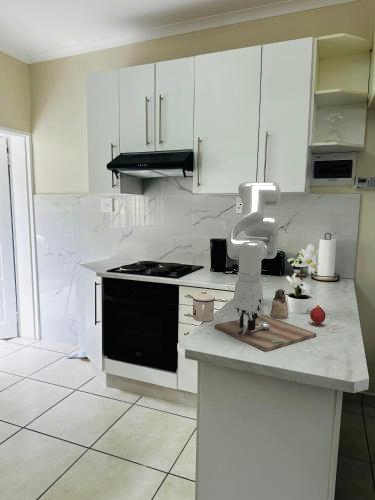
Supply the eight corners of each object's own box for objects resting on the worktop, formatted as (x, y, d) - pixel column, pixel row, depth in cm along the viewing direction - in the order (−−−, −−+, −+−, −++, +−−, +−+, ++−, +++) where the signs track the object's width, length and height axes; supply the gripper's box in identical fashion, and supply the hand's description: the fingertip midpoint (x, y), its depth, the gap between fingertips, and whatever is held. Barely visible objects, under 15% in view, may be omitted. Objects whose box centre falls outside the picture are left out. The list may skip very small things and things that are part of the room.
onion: (312, 321, 139) (313, 302, 138) (326, 324, 136) (328, 304, 135) (307, 324, 135) (308, 305, 134) (322, 328, 131) (323, 308, 130)
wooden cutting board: (262, 317, 143) (262, 313, 143) (316, 336, 122) (316, 332, 122) (214, 327, 129) (214, 324, 129) (265, 352, 107) (266, 347, 107)
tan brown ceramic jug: (283, 313, 149) (284, 287, 148) (290, 318, 142) (292, 290, 141) (268, 314, 148) (269, 287, 146) (274, 319, 141) (276, 291, 139)
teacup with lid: (192, 314, 144) (193, 288, 143) (214, 315, 144) (215, 288, 142) (190, 324, 133) (191, 294, 131) (214, 325, 132) (214, 295, 130)
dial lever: (263, 325, 128) (264, 307, 127) (272, 328, 125) (273, 309, 124) (234, 332, 119) (234, 313, 118) (242, 336, 116) (243, 316, 115)
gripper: (225, 274, 122) (223, 324, 124) (260, 283, 109) (258, 338, 111) (239, 272, 126) (237, 320, 128) (275, 280, 114) (272, 333, 116)
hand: (247, 328), depth 120 cm, fingers closed on dial lever, 3 cm apart
